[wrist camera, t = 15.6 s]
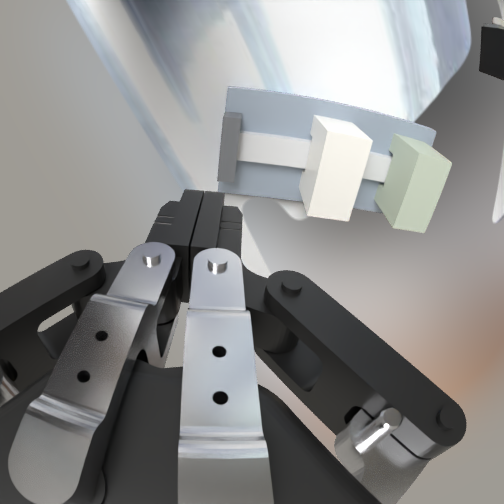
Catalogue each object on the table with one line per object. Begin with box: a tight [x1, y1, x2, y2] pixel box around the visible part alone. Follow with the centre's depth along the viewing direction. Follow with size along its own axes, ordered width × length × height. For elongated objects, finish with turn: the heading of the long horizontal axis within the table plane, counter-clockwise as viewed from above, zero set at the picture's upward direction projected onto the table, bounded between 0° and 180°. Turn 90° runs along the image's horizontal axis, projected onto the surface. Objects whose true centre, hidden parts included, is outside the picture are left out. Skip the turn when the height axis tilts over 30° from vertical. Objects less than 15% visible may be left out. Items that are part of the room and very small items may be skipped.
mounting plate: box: [218, 86, 452, 233], centre depth 36 cm, size 28×14×9 cm, turn 83°
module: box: [299, 115, 373, 221], centre depth 35 cm, size 5×10×8 cm, turn 173°
